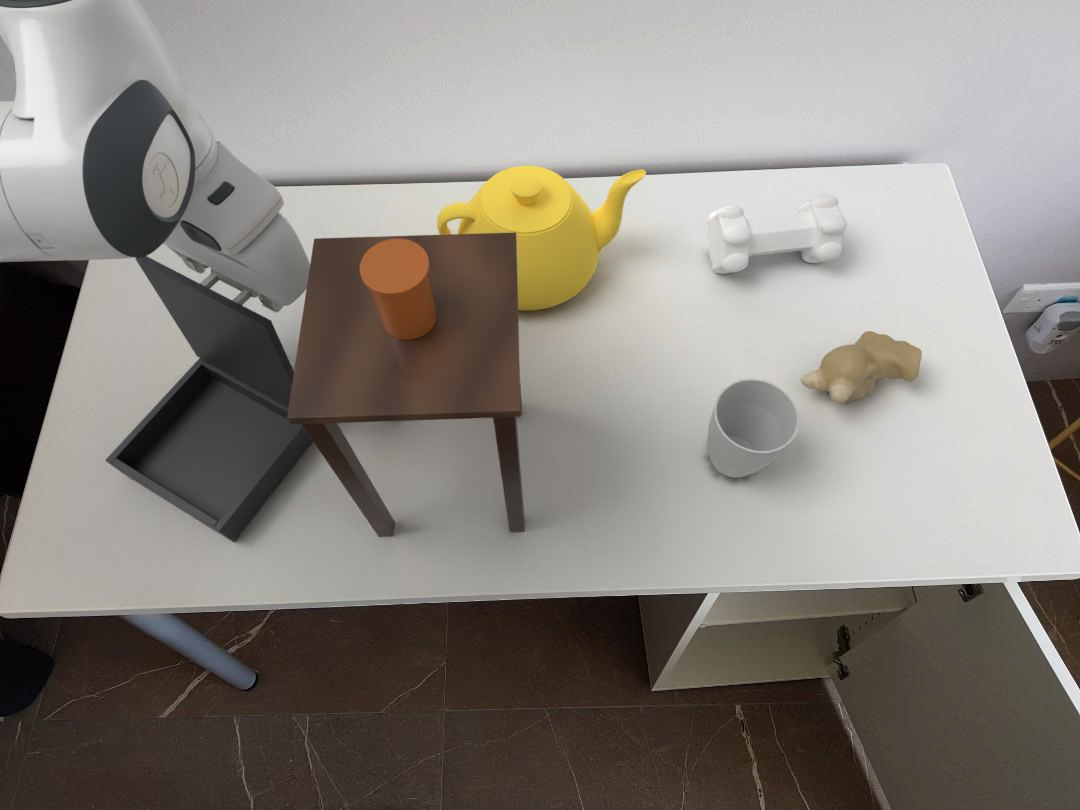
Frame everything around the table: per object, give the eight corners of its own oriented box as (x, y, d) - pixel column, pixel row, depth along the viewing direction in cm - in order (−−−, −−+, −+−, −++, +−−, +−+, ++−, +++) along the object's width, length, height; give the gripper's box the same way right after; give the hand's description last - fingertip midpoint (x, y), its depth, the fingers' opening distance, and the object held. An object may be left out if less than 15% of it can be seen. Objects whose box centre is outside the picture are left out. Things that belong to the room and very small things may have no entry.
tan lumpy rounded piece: (936, 356, 76) (861, 380, 71) (906, 407, 80) (834, 433, 75) (876, 317, 81) (802, 336, 76) (851, 366, 86) (780, 387, 80)
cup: (775, 491, 75) (805, 453, 66) (698, 490, 75) (719, 452, 66) (764, 423, 79) (792, 378, 70) (692, 422, 79) (710, 378, 70)
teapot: (620, 201, 95) (631, 116, 83) (647, 307, 86) (663, 231, 74) (434, 220, 93) (418, 137, 81) (443, 330, 85) (427, 256, 73)
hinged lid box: (234, 542, 73) (219, 531, 69) (123, 474, 77) (104, 460, 73) (321, 431, 79) (311, 416, 75) (215, 373, 82) (201, 356, 79)
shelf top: (291, 424, 49) (286, 418, 48) (317, 246, 56) (313, 238, 56) (520, 417, 49) (520, 410, 48) (516, 240, 57) (516, 231, 56)
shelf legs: (378, 536, 73) (297, 419, 49) (388, 407, 80) (321, 250, 56) (524, 531, 73) (515, 412, 49) (521, 403, 80) (511, 244, 56)
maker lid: (265, 326, 62) (300, 290, 64) (134, 258, 65) (172, 227, 68) (307, 417, 75) (336, 385, 77) (196, 356, 78) (227, 327, 81)
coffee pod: (417, 353, 51) (403, 303, 45) (365, 327, 52) (345, 275, 46) (452, 307, 52) (442, 254, 47) (401, 283, 53) (386, 229, 48)
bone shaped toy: (810, 224, 92) (833, 178, 85) (832, 276, 88) (857, 232, 81) (699, 237, 92) (712, 191, 84) (716, 290, 88) (731, 247, 80)
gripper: (47, 156, 57) (135, 266, 69) (242, 252, 52) (300, 352, 64) (105, 109, 59) (180, 223, 72) (296, 197, 55) (341, 303, 67)
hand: (238, 285), depth 68 cm, fingers open, 8 cm apart
